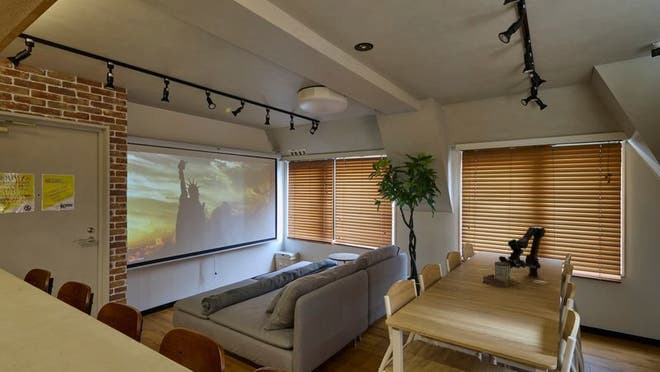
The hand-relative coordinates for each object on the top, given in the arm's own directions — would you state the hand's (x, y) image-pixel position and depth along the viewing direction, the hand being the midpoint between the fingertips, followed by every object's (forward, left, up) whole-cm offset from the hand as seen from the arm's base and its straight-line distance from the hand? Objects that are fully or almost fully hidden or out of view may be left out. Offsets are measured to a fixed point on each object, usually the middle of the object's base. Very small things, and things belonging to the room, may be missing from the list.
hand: (507, 270), depth 240 cm
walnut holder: (+9, -5, -8) cm, 13 cm away
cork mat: (-7, +21, -8) cm, 23 cm away
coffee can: (+5, -3, -8) cm, 10 cm away
